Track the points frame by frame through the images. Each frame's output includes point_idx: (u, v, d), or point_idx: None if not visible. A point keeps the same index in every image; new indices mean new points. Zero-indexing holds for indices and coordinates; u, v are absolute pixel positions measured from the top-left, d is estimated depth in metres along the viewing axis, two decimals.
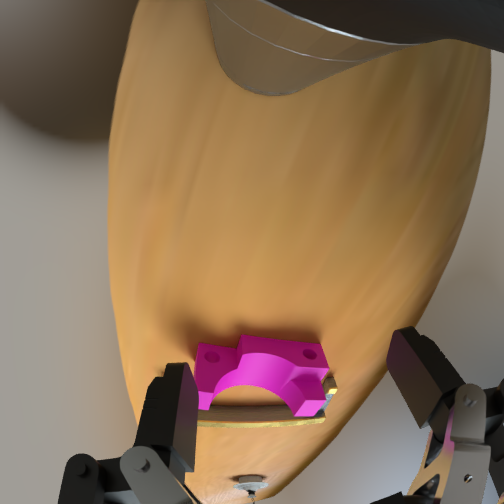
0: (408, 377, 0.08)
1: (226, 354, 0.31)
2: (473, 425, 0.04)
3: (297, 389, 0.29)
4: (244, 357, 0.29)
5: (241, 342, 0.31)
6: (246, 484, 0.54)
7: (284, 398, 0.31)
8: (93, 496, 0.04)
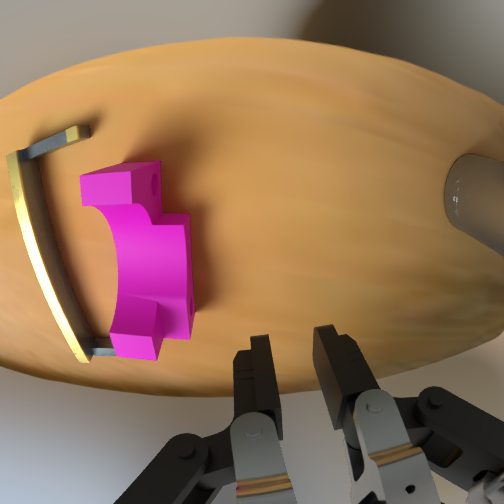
0: (324, 375, 0.09)
1: (158, 202, 0.22)
2: (390, 432, 0.05)
3: (151, 316, 0.21)
4: (175, 229, 0.21)
5: (184, 217, 0.23)
6: None
7: (120, 306, 0.21)
8: (187, 482, 0.05)
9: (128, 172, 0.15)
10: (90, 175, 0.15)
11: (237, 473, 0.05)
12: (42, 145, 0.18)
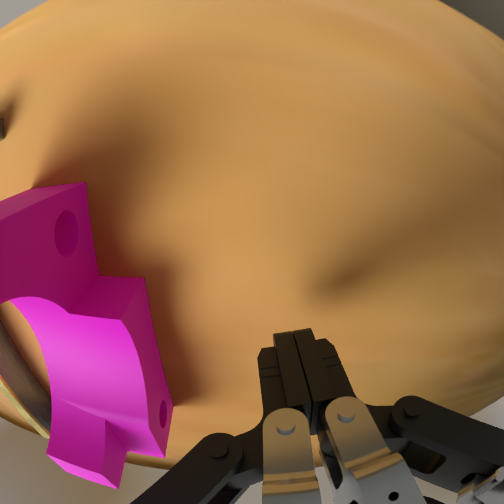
0: None
1: (83, 263, 0.11)
2: (365, 440, 0.05)
3: (99, 440, 0.10)
4: (110, 323, 0.10)
5: (132, 290, 0.11)
6: None
7: (56, 415, 0.10)
8: (216, 483, 0.05)
9: None
10: None
11: (265, 468, 0.05)
12: None
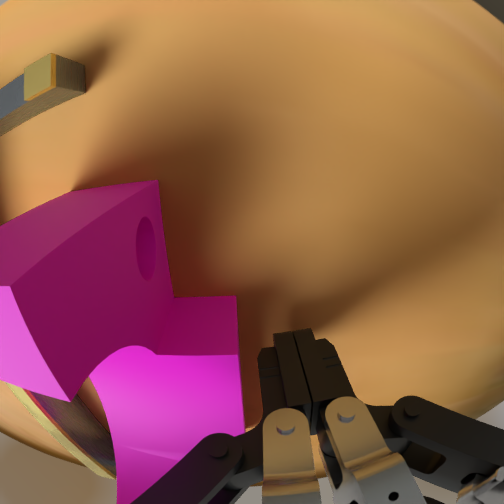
0: None
1: (161, 286, 0.09)
2: (365, 440, 0.05)
3: None
4: (217, 360, 0.08)
5: (229, 313, 0.10)
6: None
7: (123, 465, 0.09)
8: (216, 483, 0.05)
9: (5, 290, 0.02)
10: None
11: (265, 468, 0.05)
12: None
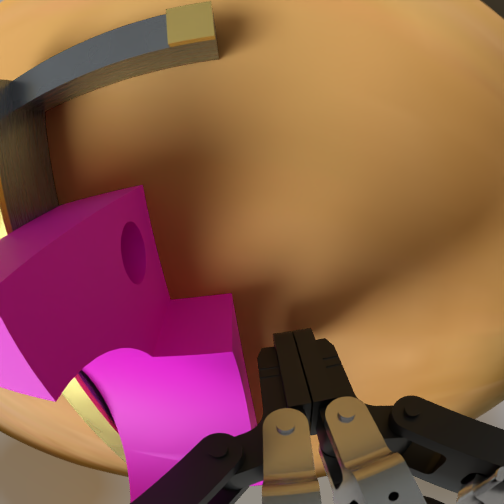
0: None
1: (155, 288, 0.09)
2: (365, 440, 0.05)
3: None
4: (213, 358, 0.08)
5: (224, 310, 0.10)
6: None
7: (135, 469, 0.09)
8: (216, 483, 0.05)
9: None
10: None
11: (265, 469, 0.05)
12: (69, 61, 0.05)
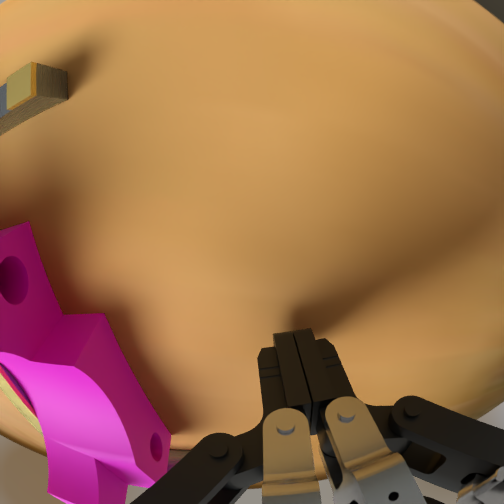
0: None
1: (39, 307, 0.09)
2: (365, 440, 0.05)
3: (92, 479, 0.08)
4: (68, 369, 0.08)
5: (89, 329, 0.09)
6: None
7: (51, 455, 0.09)
8: (216, 483, 0.05)
9: None
10: None
11: (265, 469, 0.05)
12: None
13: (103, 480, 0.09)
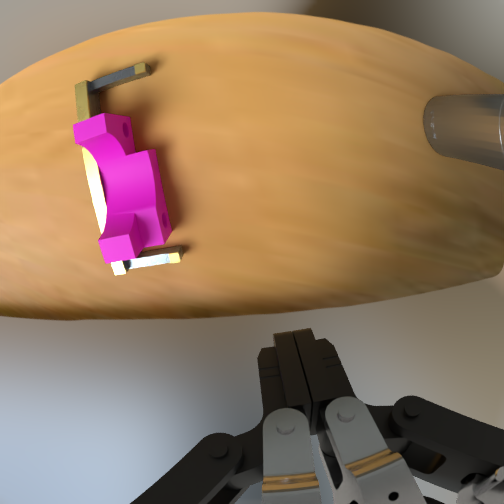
0: None
1: (130, 143, 0.27)
2: (365, 440, 0.05)
3: (130, 223, 0.27)
4: (142, 155, 0.26)
5: None
6: None
7: (107, 223, 0.27)
8: (216, 483, 0.05)
9: (102, 113, 0.21)
10: (79, 122, 0.21)
11: (265, 468, 0.05)
12: (110, 77, 0.23)
13: (135, 226, 0.27)
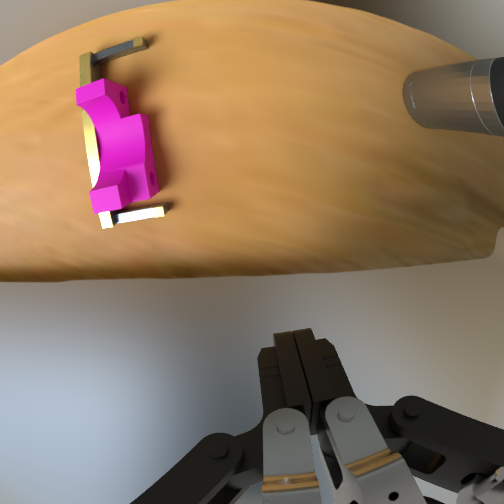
0: None
1: (125, 110, 0.28)
2: (365, 440, 0.05)
3: (119, 177, 0.28)
4: (135, 118, 0.27)
5: None
6: None
7: (99, 178, 0.28)
8: (216, 483, 0.05)
9: (102, 79, 0.22)
10: (82, 87, 0.22)
11: (265, 469, 0.05)
12: (111, 50, 0.24)
13: (124, 181, 0.28)
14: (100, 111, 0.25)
